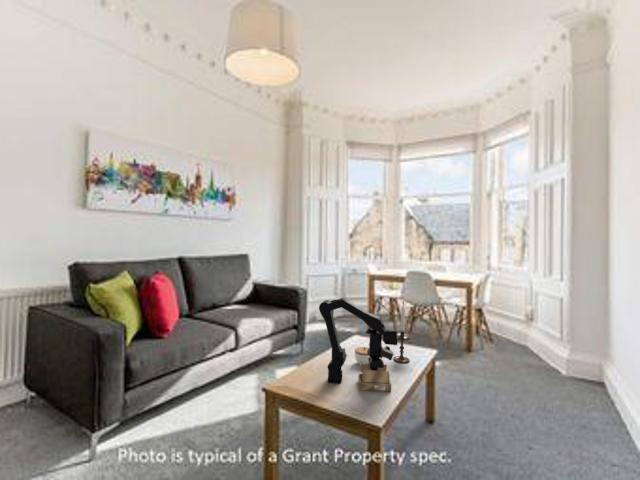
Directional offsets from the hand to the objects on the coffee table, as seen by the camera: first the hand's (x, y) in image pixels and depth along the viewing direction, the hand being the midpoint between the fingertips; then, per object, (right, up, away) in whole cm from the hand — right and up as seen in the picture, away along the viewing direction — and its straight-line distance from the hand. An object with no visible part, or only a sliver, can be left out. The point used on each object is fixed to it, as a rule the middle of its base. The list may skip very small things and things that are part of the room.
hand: (374, 375), depth 167 cm
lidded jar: (-1, -5, +28) cm, 28 cm away
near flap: (0, +1, -5) cm, 5 cm away
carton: (0, -5, 0) cm, 5 cm away
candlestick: (+21, -5, +35) cm, 41 cm away
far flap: (0, +2, +4) cm, 5 cm away
